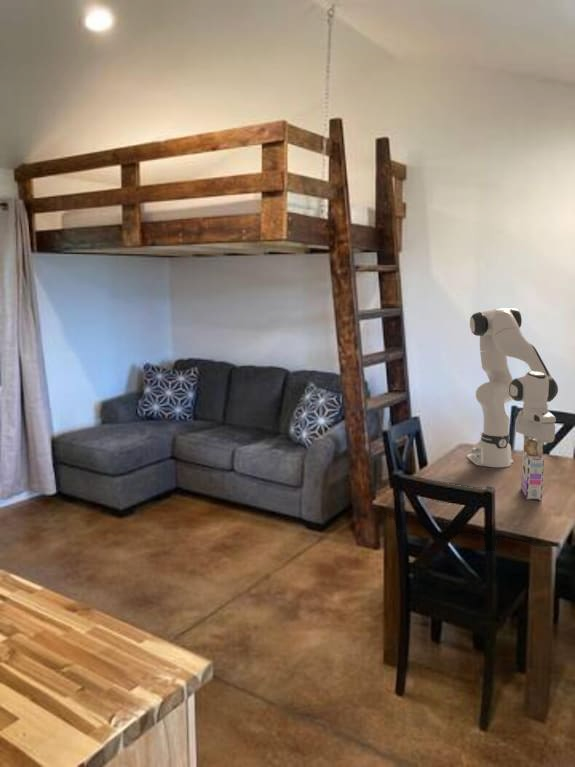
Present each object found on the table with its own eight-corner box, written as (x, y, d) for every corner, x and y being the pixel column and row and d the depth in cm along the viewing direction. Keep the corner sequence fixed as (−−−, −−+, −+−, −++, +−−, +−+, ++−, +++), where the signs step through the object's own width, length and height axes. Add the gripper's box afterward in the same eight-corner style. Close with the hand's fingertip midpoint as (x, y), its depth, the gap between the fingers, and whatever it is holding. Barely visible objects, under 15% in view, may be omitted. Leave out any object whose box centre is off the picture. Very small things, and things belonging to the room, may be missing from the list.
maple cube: (523, 451, 245) (523, 439, 244) (534, 450, 246) (535, 438, 245) (531, 455, 240) (531, 442, 239) (542, 454, 241) (543, 441, 240)
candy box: (542, 500, 238) (544, 459, 236) (526, 499, 239) (528, 458, 237) (535, 489, 251) (537, 449, 249) (520, 488, 253) (522, 449, 250)
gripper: (512, 409, 250) (510, 442, 252) (544, 419, 230) (542, 455, 232) (525, 408, 251) (524, 441, 253) (559, 418, 231) (556, 454, 234)
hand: (533, 448), depth 243 cm, fingers closed on maple cube, 5 cm apart
